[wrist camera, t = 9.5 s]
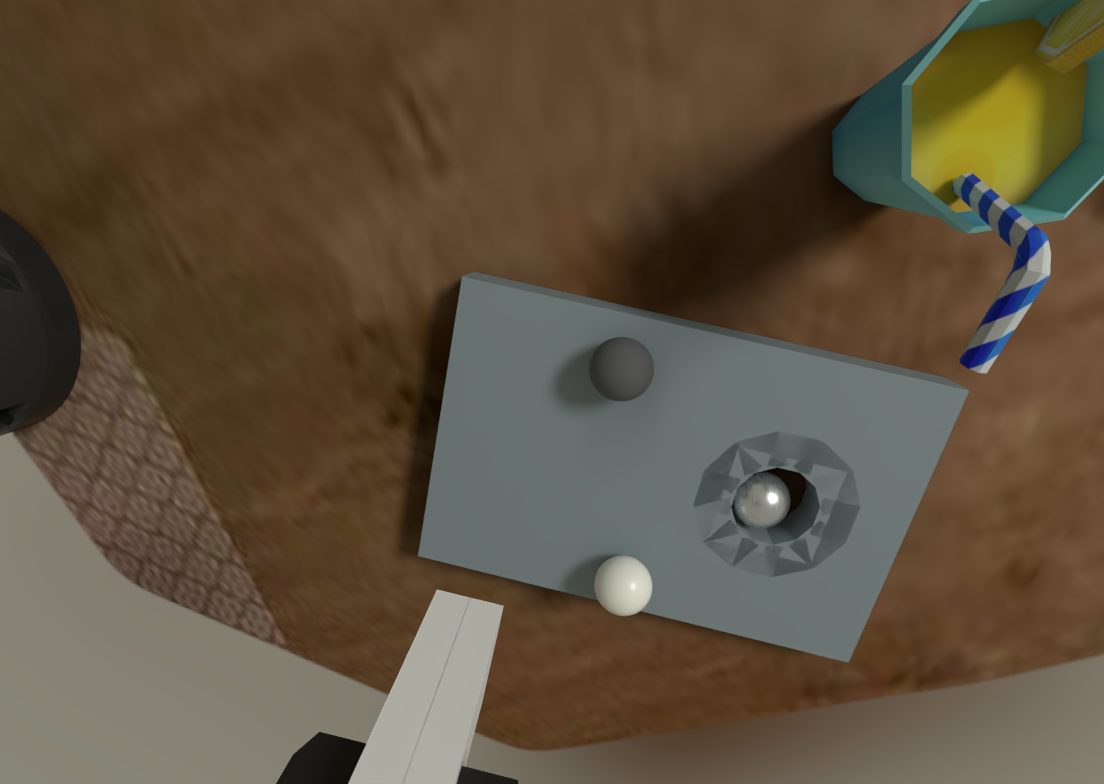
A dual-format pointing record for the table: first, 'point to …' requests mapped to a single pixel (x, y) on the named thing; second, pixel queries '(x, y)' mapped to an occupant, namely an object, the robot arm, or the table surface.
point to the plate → (678, 463)
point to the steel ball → (761, 500)
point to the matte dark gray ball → (621, 369)
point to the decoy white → (623, 585)
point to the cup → (988, 137)
